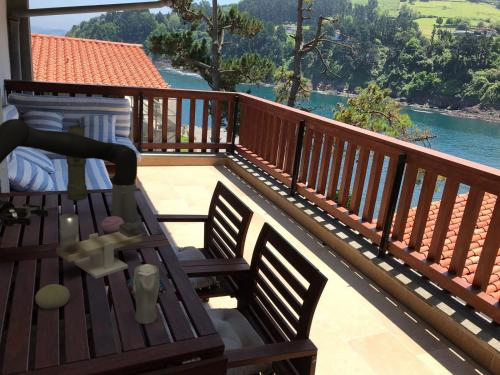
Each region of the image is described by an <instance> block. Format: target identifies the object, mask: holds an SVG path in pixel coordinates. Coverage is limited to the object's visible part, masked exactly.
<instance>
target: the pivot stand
mask: <svg viewBox="0 0 500 375" xmlns="http://www.w3.org/2000/svg"><path fill="white" fill-rule="evenodd" d="M96 237H99V233H98V232H95V233H92V234H89V235H88V239H92V238H96ZM114 250H115V249H114V243H113V242H110V243H106V244H104V252H102V253H98V254H95V255H92V256H88V257H85V258H81V259H78V260H74V264H75V265H76V266H77V267H79V269H80V268H81V269H82V270H83V271H85V272H86V273H88V274H89V275H90V274H91V275H90V276H92V277H93V278H94V279H99V278H102V277H104V276H108V275H112V274H113V273H118V272H120V271H124V270H126V269H129V265H128V264H126V263H125V262H124V261H122V260H120V259H118V258H117V257H115V254H114Z"/></svg>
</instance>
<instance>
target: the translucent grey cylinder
mask: <svg viewBox="0 0 500 375" xmlns="http://www.w3.org/2000/svg"><path fill="white" fill-rule="evenodd" d="M58 218H59V219H58V220H59V221H58V222H59V239H60V241H59V242H60V247H61V251H62V252H67V253H70V252H75V251H77V250H79V242H80V231H79V230H80V229H79V215H78V214H76V213H64V214H61V215H59V217H58Z"/></svg>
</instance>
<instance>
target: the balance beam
mask: <svg viewBox="0 0 500 375" xmlns="http://www.w3.org/2000/svg"><path fill="white" fill-rule="evenodd" d="M142 241H143V236H142V235H141V234H140V227H139V226H138V225H135V224H134V223H130V222H128V223H124V224H120V225H119V232H115V233H111V234H108V235H104V234H103V235H101V236H98V237H96V238H92V239H89V238H88V239H85V240H81V241H79V250H77V251H75V252H70V253H67V252H62V251H61V246H58V247H56V248H55V251H56V254H57V256H59V257H60V258H62V259H63V260H65V261H66V262H68V263H70V262H73V261H74V262H75V261H76V260H80V259H83V258H86V257H89V256H92V255H95V254H98V253H102V252H104V244H106V243H110V242H113V243H114V250H115V249H118V248H122V247H126V246H129V245H133V244H136V243H139V242H142Z"/></svg>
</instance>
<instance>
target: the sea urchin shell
mask: <svg viewBox="0 0 500 375" xmlns="http://www.w3.org/2000/svg"><path fill="white" fill-rule="evenodd" d="M70 296H71V294H70V290H69V289H68V287H66V286H65V285H61V284H58V283H57V284H56V283H52V284H48V285H45V286H43V287H42V288H41V289H39V290H38V291H37V292H36V294H35V297H34V298H35V299H34V300H35V303H36V304H37V305H38V306H39V308H42V309H45V310H47V309H48V310H49V309H50V310H52V309H58V308H60V307H63V306H65V305H66V303H68V301H69V300H70Z"/></svg>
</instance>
